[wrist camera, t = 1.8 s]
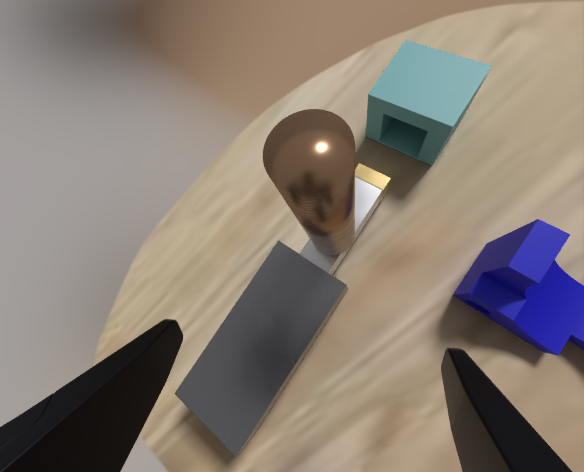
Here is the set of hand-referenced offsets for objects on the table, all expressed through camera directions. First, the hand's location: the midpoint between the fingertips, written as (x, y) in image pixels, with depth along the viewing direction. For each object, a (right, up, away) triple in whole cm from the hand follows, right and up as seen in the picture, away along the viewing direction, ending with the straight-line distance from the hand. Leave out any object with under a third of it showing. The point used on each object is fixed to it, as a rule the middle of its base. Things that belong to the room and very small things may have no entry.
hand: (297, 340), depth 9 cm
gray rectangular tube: (-1, -4, +12) cm, 13 cm away
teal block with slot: (+10, +13, +14) cm, 21 cm away
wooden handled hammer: (+1, 0, +12) cm, 12 cm away
